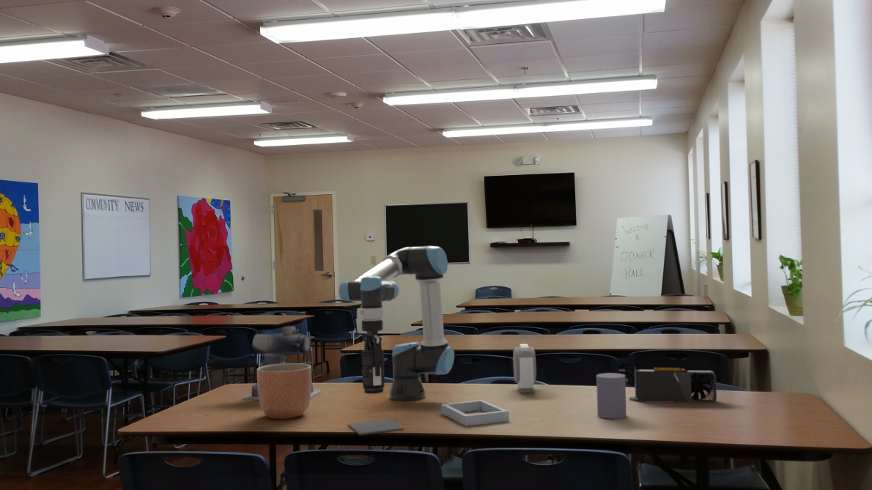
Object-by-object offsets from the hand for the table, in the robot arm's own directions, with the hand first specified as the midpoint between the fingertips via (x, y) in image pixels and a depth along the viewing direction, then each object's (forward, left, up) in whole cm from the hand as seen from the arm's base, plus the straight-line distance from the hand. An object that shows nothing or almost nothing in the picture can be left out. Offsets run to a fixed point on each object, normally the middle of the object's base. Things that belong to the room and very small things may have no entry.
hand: (373, 383), depth 268 cm
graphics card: (+14, +119, -16) cm, 121 cm away
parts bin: (+2, +38, -16) cm, 41 cm away
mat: (0, 0, -16) cm, 16 cm away
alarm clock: (-35, +79, -16) cm, 88 cm away
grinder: (-78, -20, -16) cm, 82 cm away
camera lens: (0, 0, -3) cm, 3 cm away
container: (+25, +83, -16) cm, 88 cm away
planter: (-35, -26, -16) cm, 47 cm away
